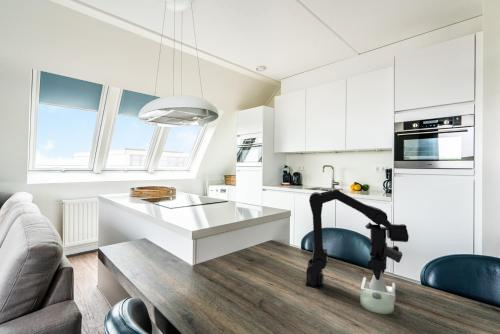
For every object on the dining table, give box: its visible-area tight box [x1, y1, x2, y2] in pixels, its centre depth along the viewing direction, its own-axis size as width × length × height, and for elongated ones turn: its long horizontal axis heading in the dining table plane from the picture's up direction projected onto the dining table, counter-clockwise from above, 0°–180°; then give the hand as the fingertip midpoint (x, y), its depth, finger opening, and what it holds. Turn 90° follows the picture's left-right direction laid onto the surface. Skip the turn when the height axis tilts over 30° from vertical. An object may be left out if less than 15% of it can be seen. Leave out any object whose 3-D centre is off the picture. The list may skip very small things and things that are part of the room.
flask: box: [368, 270, 387, 293], centre depth 104 cm, size 7×7×10 cm
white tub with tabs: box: [359, 276, 396, 315], centre depth 100 cm, size 12×23×4 cm, turn 151°
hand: (377, 278), depth 104 cm, fingers closed on flask, 3 cm apart
